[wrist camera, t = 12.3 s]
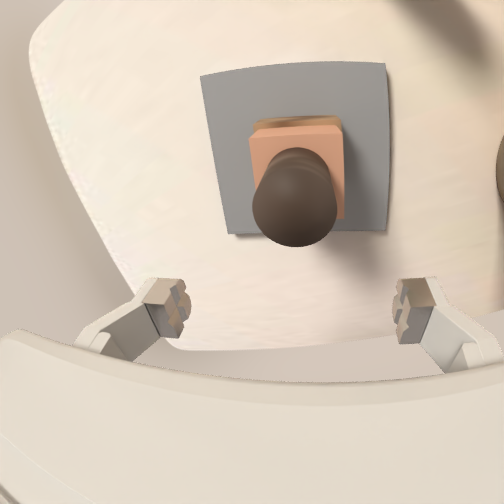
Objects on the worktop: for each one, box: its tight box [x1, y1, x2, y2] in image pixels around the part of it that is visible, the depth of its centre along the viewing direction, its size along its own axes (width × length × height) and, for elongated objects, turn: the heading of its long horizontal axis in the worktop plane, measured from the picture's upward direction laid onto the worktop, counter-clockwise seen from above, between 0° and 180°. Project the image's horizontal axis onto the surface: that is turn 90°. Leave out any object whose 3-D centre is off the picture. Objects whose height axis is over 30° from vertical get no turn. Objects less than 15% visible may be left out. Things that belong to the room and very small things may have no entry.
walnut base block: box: [253, 115, 342, 133], centre depth 28 cm, size 8×8×5 cm
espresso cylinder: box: [252, 147, 337, 247], centre depth 19 cm, size 5×5×6 cm
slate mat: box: [200, 61, 390, 234], centre depth 30 cm, size 20×20×2 cm
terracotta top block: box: [249, 125, 344, 219], centre depth 24 cm, size 7×7×5 cm
